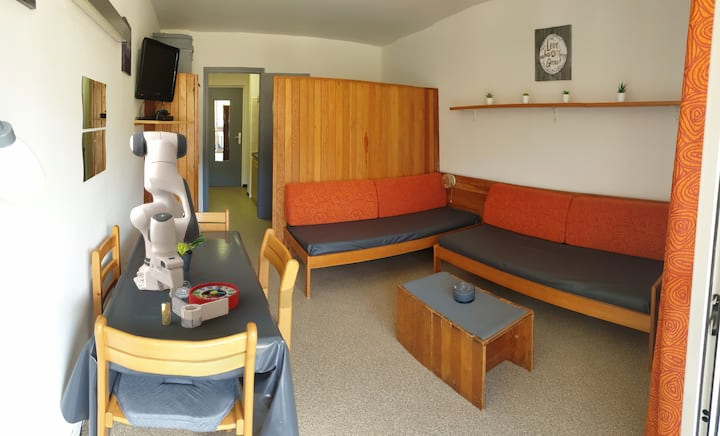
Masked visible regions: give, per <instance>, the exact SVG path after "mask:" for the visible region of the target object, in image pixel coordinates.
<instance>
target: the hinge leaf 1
mask: <svg viewBox="0 0 720 436" xmlns="http://www.w3.org/2000/svg"><path fill="white" fill-rule="evenodd" d="M171 305H172V306H171V307H172V309H171V310H172V313H174V314H176V315H177V316H178V317H180V319H181V320H180V321H181V323H180V324H181V325H180V326H182V327H183V328H187V329H195V328H197V327H200V326H201V325H202V323H203V321H202V315H201V317H200V318H197V319H194V320H193V319H192V320H185V319H183V318H182V317H181V308H182V307H183V306H185V305H189V303H186V302H185V301H183V300H182V299H181V298H179V297H177V296H176V297H174V298H171Z"/></svg>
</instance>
